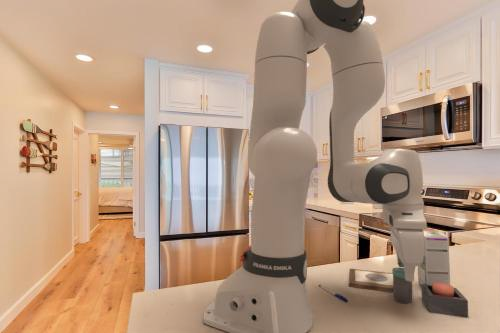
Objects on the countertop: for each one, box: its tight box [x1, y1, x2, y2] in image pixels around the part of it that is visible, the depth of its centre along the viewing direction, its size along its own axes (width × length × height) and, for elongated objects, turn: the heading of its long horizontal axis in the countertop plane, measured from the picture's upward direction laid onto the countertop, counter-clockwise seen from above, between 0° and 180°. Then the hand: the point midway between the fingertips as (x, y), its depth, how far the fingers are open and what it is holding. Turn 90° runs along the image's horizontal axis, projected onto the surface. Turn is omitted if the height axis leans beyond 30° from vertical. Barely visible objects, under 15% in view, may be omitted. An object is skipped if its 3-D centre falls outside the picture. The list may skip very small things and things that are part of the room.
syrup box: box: [417, 230, 451, 287], centre depth 73 cm, size 6×6×14 cm
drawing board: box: [349, 268, 393, 293], centre depth 78 cm, size 14×12×1 cm
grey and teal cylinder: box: [391, 267, 413, 305], centre depth 67 cm, size 4×4×7 cm
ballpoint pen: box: [318, 284, 349, 303], centre depth 70 cm, size 10×1×1 cm, turn 26°
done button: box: [432, 282, 455, 297], centre depth 63 cm, size 4×4×2 cm
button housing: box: [421, 284, 469, 318], centre depth 63 cm, size 7×7×4 cm
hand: (405, 272), depth 67 cm, fingers open, 8 cm apart
